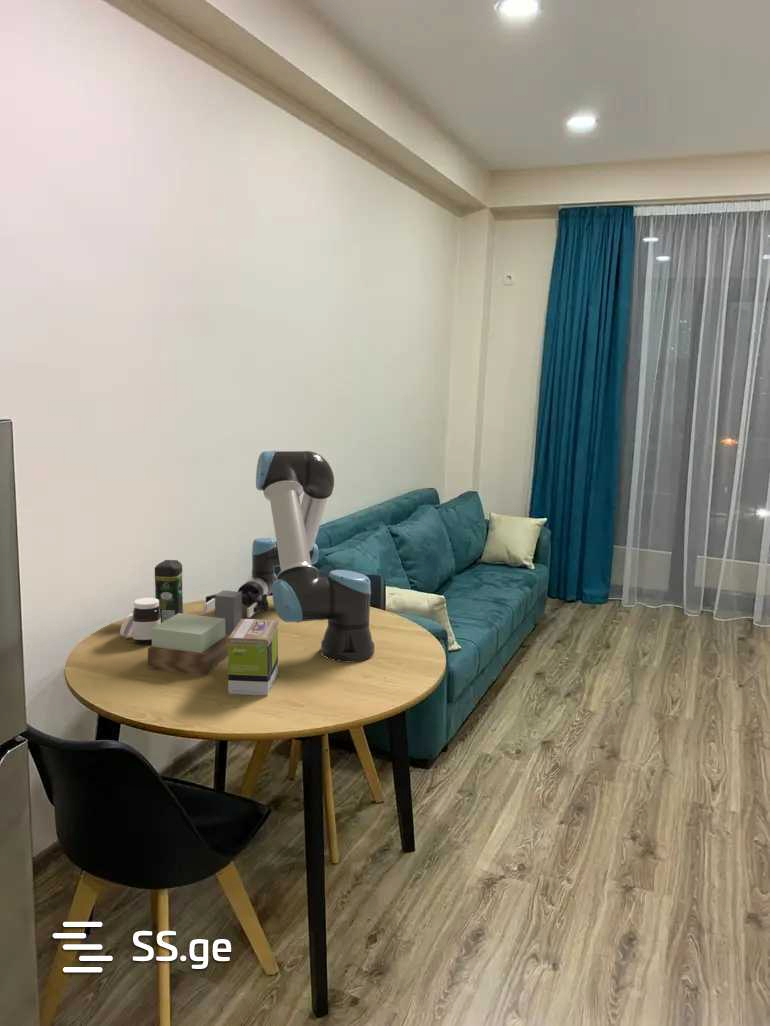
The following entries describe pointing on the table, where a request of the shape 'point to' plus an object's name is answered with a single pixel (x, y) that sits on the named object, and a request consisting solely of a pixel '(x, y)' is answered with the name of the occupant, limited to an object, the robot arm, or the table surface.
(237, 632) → the tea box
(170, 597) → the coffee jar
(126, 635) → the spread jar
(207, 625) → the sage block
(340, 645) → the robot arm
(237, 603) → the gray block
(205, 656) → the walnut block
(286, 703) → the table surface
